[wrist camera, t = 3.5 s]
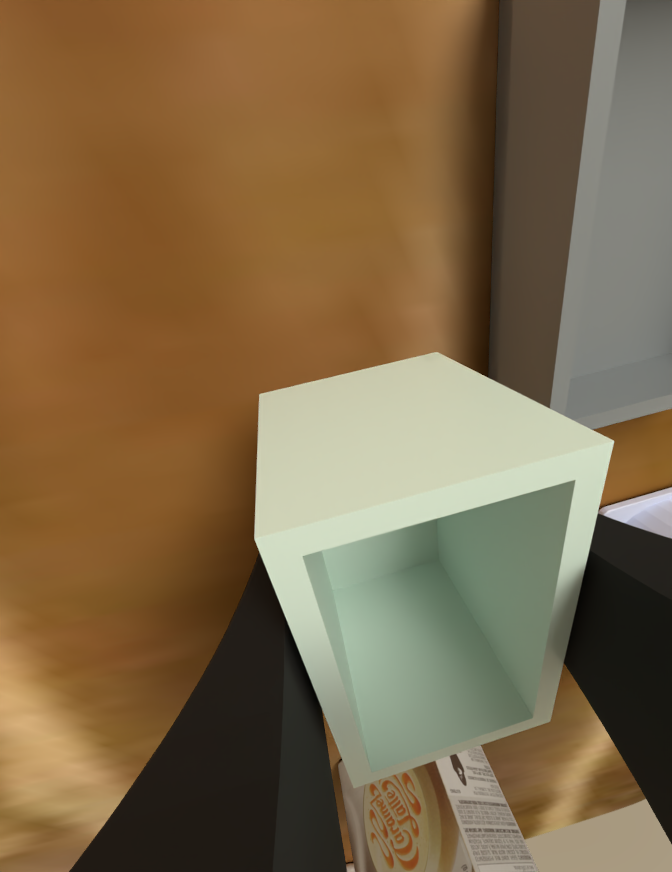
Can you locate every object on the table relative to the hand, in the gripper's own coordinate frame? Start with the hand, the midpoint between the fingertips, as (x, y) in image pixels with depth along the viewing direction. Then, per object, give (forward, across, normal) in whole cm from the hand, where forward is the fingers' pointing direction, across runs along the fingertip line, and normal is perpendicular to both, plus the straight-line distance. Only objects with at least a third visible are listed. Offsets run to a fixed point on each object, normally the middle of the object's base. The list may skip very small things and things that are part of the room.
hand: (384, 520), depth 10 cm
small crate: (+2, 0, 0) cm, 2 cm away
